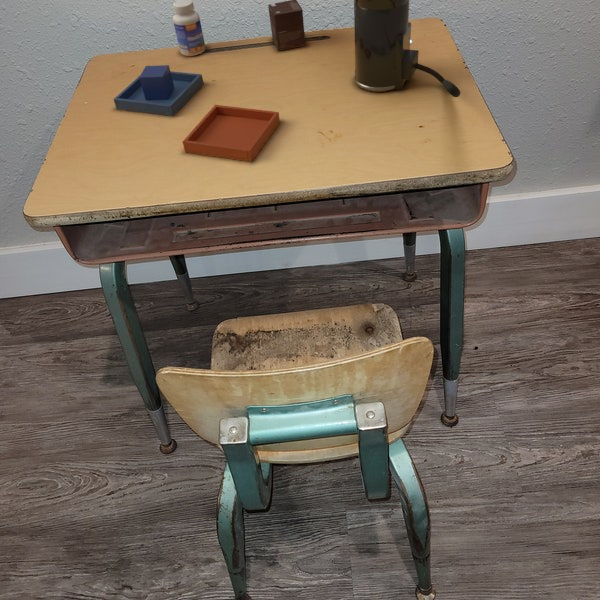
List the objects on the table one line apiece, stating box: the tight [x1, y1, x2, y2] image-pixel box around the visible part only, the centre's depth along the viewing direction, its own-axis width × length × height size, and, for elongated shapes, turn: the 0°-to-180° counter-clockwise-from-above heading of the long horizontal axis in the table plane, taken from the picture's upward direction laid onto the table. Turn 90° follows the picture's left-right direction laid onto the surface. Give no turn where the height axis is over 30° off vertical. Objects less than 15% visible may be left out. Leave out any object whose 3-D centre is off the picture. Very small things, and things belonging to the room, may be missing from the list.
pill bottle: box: [172, 0, 206, 57], centre depth 122 cm, size 5×5×10 cm
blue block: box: [138, 64, 174, 100], centre depth 111 cm, size 4×4×4 cm
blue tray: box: [112, 70, 204, 117], centre depth 112 cm, size 12×12×2 cm
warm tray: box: [182, 104, 281, 163], centre depth 100 cm, size 12×12×2 cm
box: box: [267, 0, 306, 51], centre depth 122 cm, size 6×6×7 cm
